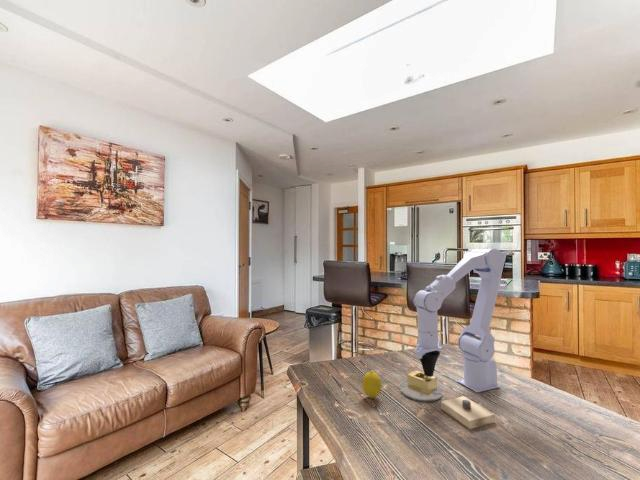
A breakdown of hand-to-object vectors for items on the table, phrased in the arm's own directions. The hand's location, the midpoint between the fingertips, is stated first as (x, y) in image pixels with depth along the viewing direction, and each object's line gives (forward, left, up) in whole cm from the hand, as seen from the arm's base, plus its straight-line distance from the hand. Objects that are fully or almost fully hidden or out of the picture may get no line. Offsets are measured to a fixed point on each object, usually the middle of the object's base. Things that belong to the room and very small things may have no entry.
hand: (428, 375), depth 92 cm
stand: (-2, +13, -6) cm, 14 cm away
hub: (+1, -2, -6) cm, 6 cm away
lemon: (+17, -4, -6) cm, 19 cm away
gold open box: (+1, -2, -5) cm, 5 cm away
